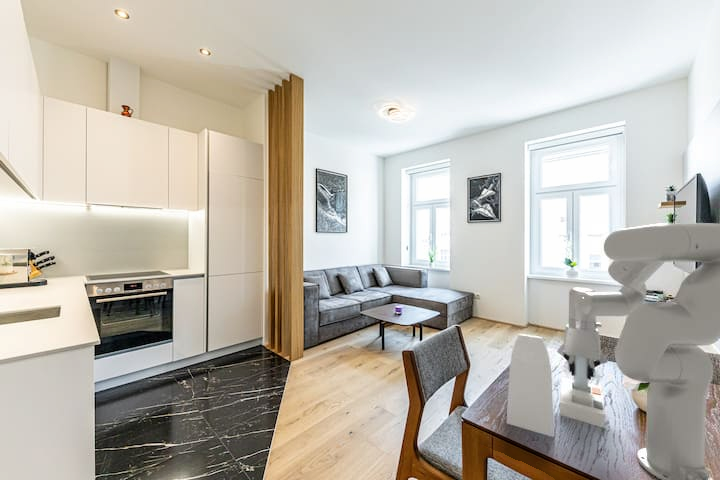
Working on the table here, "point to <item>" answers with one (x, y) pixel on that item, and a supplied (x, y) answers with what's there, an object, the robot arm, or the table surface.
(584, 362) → the plug
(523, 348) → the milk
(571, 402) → the socket block
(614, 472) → the table surface
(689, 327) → the robot arm
